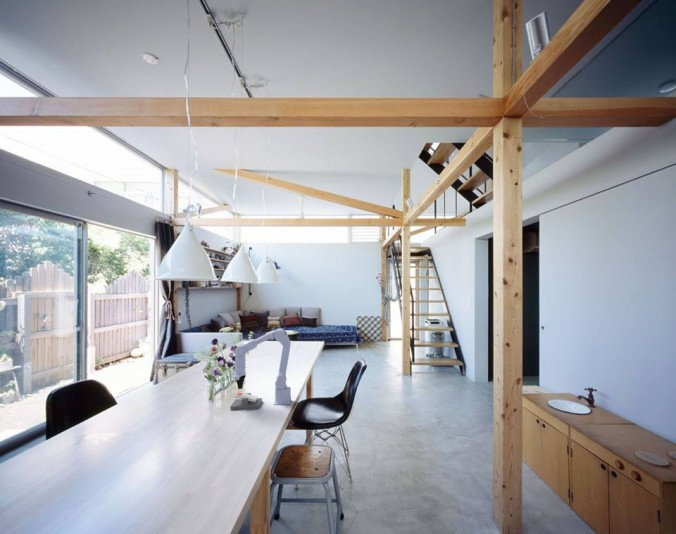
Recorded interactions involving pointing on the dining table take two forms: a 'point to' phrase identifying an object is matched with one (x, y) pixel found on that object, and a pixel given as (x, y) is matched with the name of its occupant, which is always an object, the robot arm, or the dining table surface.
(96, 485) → the dining table surface
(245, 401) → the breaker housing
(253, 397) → the block
